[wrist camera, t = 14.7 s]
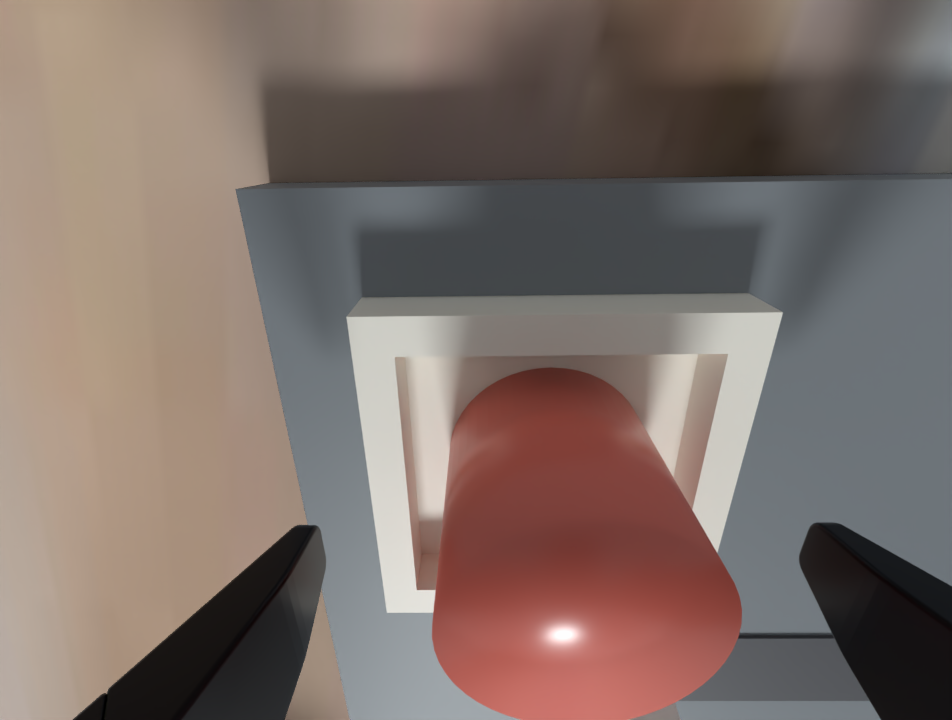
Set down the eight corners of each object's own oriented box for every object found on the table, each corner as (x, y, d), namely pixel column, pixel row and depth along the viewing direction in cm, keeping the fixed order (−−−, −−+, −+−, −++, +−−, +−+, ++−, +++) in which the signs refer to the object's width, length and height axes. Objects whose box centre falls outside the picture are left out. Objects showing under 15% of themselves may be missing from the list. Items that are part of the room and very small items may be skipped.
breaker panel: (1418, 166, 10) (1733, 173, 7) (1026, 678, 17) (1120, 769, 14) (268, 183, 10) (200, 195, 8) (361, 678, 17) (341, 767, 15)
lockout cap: (656, 366, 10) (776, 518, 6) (630, 526, 12) (708, 726, 8) (445, 367, 10) (422, 521, 6) (453, 527, 12) (439, 726, 8)
